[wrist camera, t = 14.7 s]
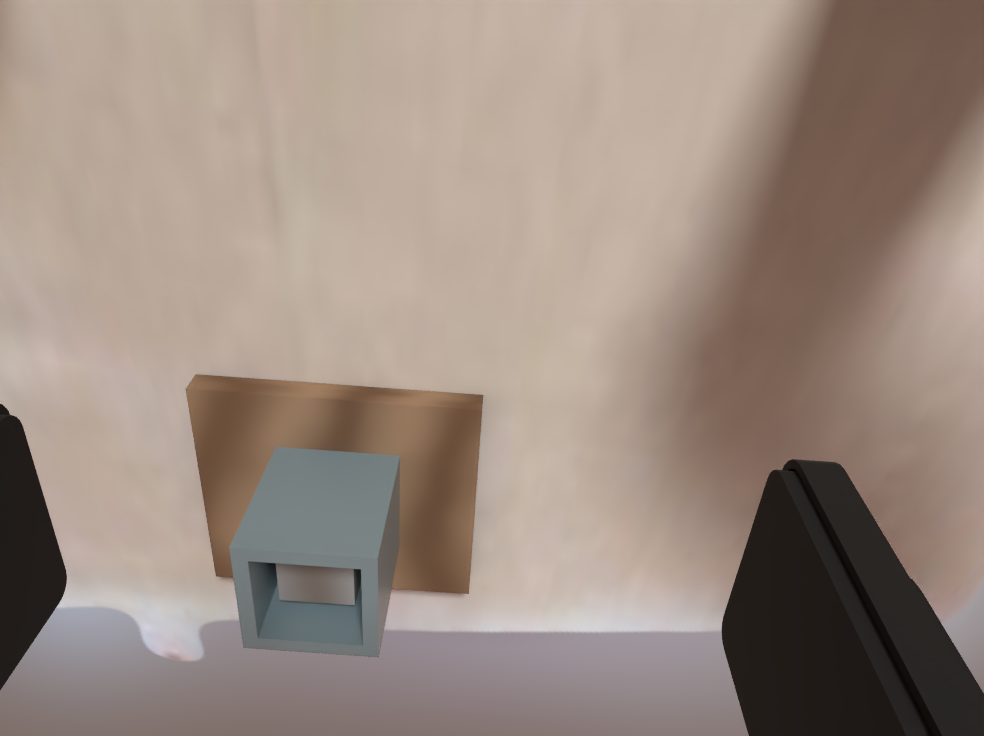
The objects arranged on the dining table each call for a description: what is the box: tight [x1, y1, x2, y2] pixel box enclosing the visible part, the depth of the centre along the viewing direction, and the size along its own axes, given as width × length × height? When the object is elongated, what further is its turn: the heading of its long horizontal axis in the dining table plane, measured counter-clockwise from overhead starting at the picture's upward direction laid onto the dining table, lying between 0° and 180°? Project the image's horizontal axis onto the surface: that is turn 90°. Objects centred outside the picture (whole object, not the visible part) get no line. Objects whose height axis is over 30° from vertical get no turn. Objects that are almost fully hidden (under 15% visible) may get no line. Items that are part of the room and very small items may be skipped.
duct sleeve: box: [229, 447, 400, 657], centre depth 41 cm, size 7×7×8 cm
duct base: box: [186, 375, 483, 605], centre depth 42 cm, size 16×14×8 cm
